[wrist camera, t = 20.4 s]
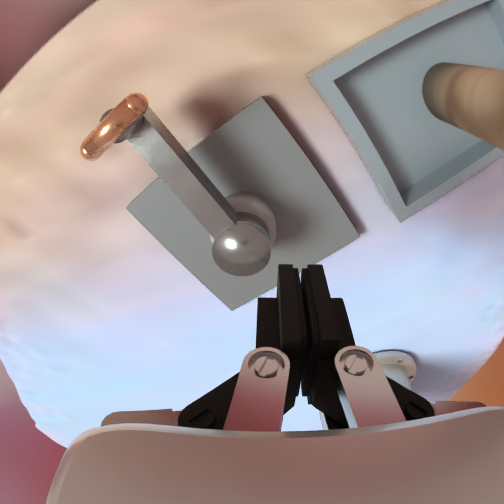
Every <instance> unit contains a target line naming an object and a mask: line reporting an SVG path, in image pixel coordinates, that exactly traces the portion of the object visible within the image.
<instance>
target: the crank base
mask: <svg viewBox="0 0 504 504" xmlns="http://www.w3.org/2000/svg"><path fill="white" fill-rule="evenodd" d="M187 153H188V154H189V155H190V156H191V158H192V159H193V160H194V161H195V162H196V164H197V165H198V166H199V167H200V168H201V170H202V171H203V172H204V173H205V174H206V176H207V177H208V178H209V179H210V180H211V182H212V183H213V184H214V185H215V187H216V188H217V189H218V190H219V191H220V193H221V194H222V195H223V196H224V197H225V199H226V200H227V201H228V202H229V204H230V205H231V206H232V207H233V208H234V210H235V211H236V212H248V213H252V214H254V215H256V216H258V217H260V218H261V219H262V220H263V221H264V222H265V223H266V225H267V226H268V229H269V232H270V245H271V256H270V260H269V262H268V264H267V265H266V267H265V268H264V269H262V270H261V271H260V272H258V273H256V274H254V275H250V276H234V275H231V274H228V273H226V272H224V271H223V270H222V269H220V268H219V267H218V266H217V264H216V263H215V261H214V259H213V256H212V246H213V242H214V238H213V237H212V236H211V235H210V234H209V232H208V231H207V230H206V229H205V228H204V227H203V226H202V225H201V223H200V222H199V221H198V220H197V219H196V218H195V217H194V215H193V214H192V213H191V212H190V211H189V210H188V209H187V208H186V206H185V205H184V204H183V203H182V202H181V201H180V200H179V198H178V197H177V196H176V195H175V194H174V193H173V192H172V190H171V189H170V188H169V187H168V186H167V185H166V184H165V182H164V181H163V180H162V179H161V178H160V177H158V178H157V179H156V180H155V181H154V182H152V183H151V184H150V185H149V186H148V187H147V188H146V189H145V190H144V191H142V192H141V193H140V194H139V195H138V196H137V197H136V198H135V199H134V200H133V201H132V202H131V203H130V204H129V205H128V206H127V208H126V209H127V210H128V211H129V212H130V213H131V214H132V215H133V216H134V217H135V218H136V219H137V220H138V221H139V222H140V223H141V224H142V225H143V226H144V227H145V228H146V229H147V230H148V231H149V232H150V233H151V234H152V235H153V236H154V237H155V238H156V239H157V240H158V241H159V242H160V243H161V244H162V245H163V246H164V247H165V248H166V249H167V250H168V251H169V252H170V253H171V254H172V255H173V256H174V257H175V258H176V259H177V260H178V261H179V262H180V263H181V264H182V265H183V266H184V267H186V268H187V269H188V270H189V271H190V272H191V273H192V274H193V275H194V276H195V277H196V278H197V279H198V280H199V281H200V282H201V283H202V284H203V285H204V286H206V287H207V288H208V289H209V290H210V291H211V292H212V293H213V294H214V295H215V296H216V297H217V298H218V299H220V300H221V301H222V302H223V303H224V304H225V305H226V306H227V307H228V308H229V309H230V310H231V311H233V310H235V309H236V308H238V307H240V306H242V305H244V304H245V303H247V302H249V301H251V300H253V299H254V298H256V297H258V296H260V295H262V294H263V293H265V292H267V291H269V290H270V289H272V288H274V287H276V286H277V278H278V264H293V268H298V271H299V273H300V272H302V268H307V265H308V264H316V263H317V262H319V261H321V260H322V259H324V258H326V257H327V256H329V255H331V254H332V253H334V252H336V251H337V250H339V249H341V248H342V247H344V246H346V245H347V244H349V243H351V242H352V241H354V240H356V239H357V238H359V237H360V236H359V234H358V232H357V230H356V229H355V227H354V225H353V224H352V222H351V221H350V219H349V218H348V216H347V214H346V213H345V211H344V210H343V208H342V207H341V205H340V204H339V202H338V201H337V199H336V198H335V196H334V195H333V193H332V192H331V190H330V189H329V187H328V186H327V184H326V183H325V181H324V180H323V178H322V177H321V175H320V174H319V173H318V171H317V170H316V168H315V167H314V165H313V164H312V163H311V161H310V160H309V158H308V157H307V156H306V154H305V153H304V151H303V150H302V149H301V147H300V146H299V144H298V143H297V142H296V140H295V139H294V138H293V136H292V135H291V134H290V132H289V131H288V130H287V128H286V127H285V126H284V124H283V123H282V122H281V120H280V119H279V118H278V116H277V115H276V114H275V113H274V111H273V110H272V109H271V107H270V106H269V105H268V104H267V102H266V101H265V100H264V99H263V97H262V96H261V97H259V98H258V99H256V100H255V101H253V102H252V103H251V104H249V105H248V106H247V107H245V108H244V109H242V110H241V111H240V112H238V113H237V114H236V115H234V116H233V117H232V118H230V119H229V120H228V121H226V122H225V123H224V124H222V125H221V126H220V127H219V128H217V129H216V130H215V131H213V132H212V133H211V134H210V135H208V136H207V137H206V138H205V139H203V140H202V141H201V142H200V143H198V144H197V145H196V146H195V147H193V148H192V149H191V150H190V151H189V152H187Z"/></svg>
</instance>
